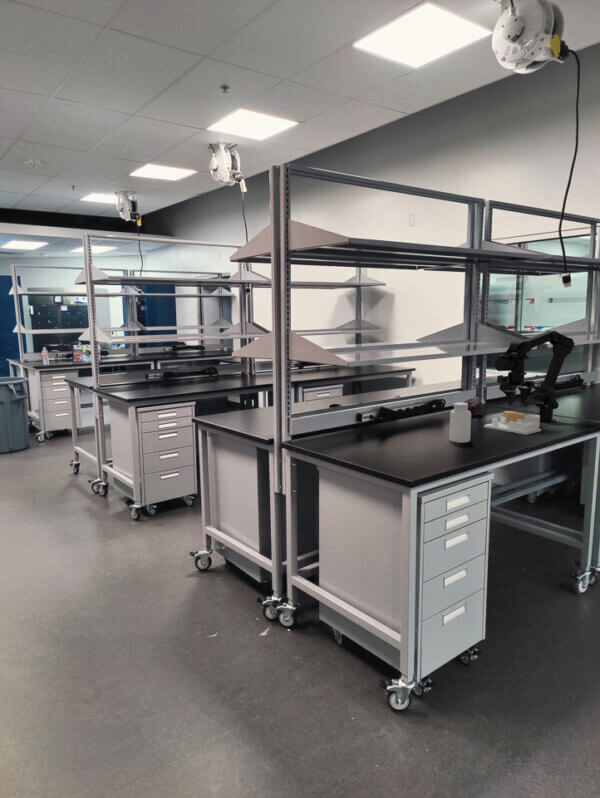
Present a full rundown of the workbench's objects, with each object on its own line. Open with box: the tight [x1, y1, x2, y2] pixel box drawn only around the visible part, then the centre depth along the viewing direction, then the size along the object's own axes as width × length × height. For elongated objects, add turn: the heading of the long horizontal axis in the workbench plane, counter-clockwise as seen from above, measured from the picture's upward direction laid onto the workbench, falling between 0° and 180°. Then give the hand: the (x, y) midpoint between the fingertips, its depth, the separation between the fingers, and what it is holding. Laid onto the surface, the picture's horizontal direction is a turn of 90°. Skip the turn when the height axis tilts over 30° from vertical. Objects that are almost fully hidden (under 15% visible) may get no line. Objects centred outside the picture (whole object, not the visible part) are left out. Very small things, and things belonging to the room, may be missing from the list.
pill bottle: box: [448, 401, 472, 444], centre depth 211 cm, size 8×8×15 cm
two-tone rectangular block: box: [501, 410, 541, 428], centre depth 239 cm, size 4×16×5 cm, turn 36°
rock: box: [462, 396, 483, 417], centre depth 262 cm, size 12×9×10 cm
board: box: [483, 416, 542, 436], centre depth 231 cm, size 11×20×4 cm, turn 36°
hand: (516, 404), depth 240 cm, fingers open, 9 cm apart
